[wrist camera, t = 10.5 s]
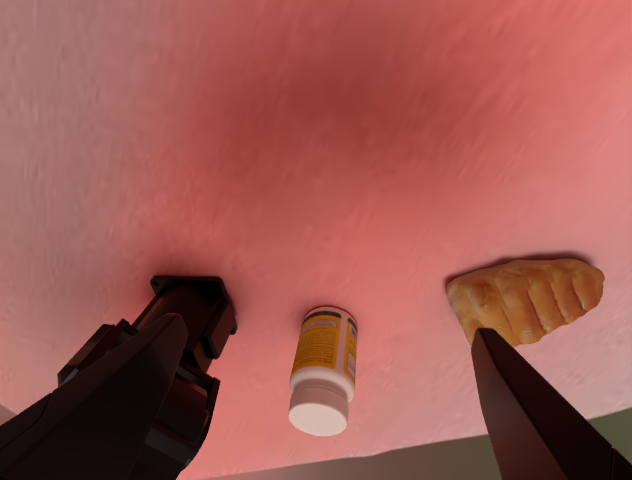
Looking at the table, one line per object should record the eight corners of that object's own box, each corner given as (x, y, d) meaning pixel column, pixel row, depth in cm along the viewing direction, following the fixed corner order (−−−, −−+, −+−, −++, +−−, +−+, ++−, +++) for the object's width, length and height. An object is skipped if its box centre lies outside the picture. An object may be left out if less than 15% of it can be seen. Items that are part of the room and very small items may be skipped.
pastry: (580, 227, 21) (618, 263, 18) (599, 298, 23) (635, 341, 20) (436, 277, 24) (445, 315, 21) (467, 334, 27) (480, 374, 24)
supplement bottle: (293, 325, 29) (269, 419, 22) (322, 296, 27) (304, 390, 20) (337, 350, 30) (326, 447, 23) (369, 323, 28) (367, 423, 21)
